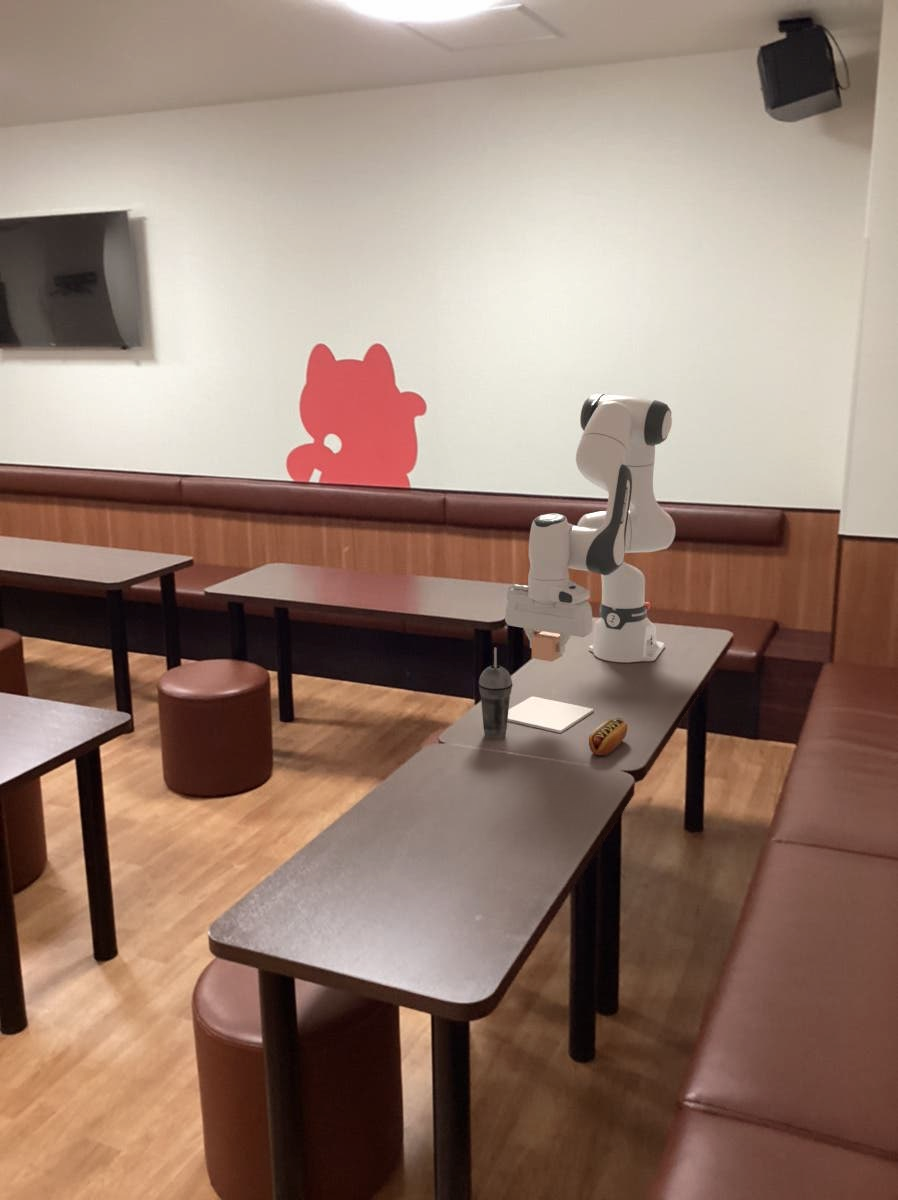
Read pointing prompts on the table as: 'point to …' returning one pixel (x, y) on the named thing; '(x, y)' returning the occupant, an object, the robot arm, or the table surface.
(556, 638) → the cube
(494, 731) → the beverage cup
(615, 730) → the hot dog
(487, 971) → the table surface
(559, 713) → the mat
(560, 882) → the table surface
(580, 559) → the robot arm
